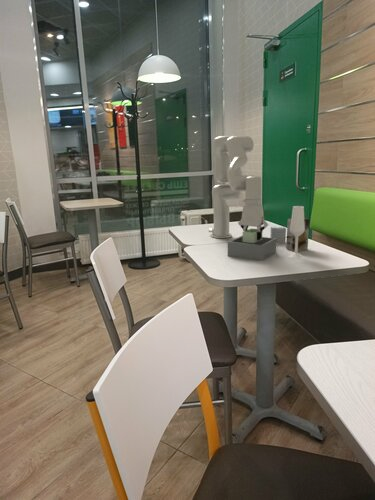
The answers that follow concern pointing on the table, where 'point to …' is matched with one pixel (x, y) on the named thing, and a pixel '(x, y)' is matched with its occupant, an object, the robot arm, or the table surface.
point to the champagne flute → (297, 227)
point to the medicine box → (278, 234)
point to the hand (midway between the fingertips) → (252, 238)
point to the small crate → (250, 236)
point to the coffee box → (301, 239)
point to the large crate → (252, 248)
